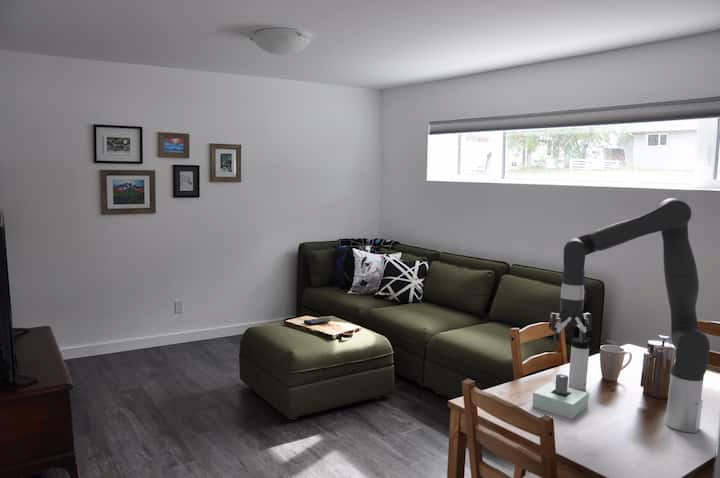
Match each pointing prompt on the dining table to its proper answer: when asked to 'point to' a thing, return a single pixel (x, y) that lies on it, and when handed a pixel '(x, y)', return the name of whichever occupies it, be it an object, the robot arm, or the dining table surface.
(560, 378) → the pin
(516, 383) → the dining table surface
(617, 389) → the dining table surface
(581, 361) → the travel mug
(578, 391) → the socket block
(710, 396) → the dining table surface
